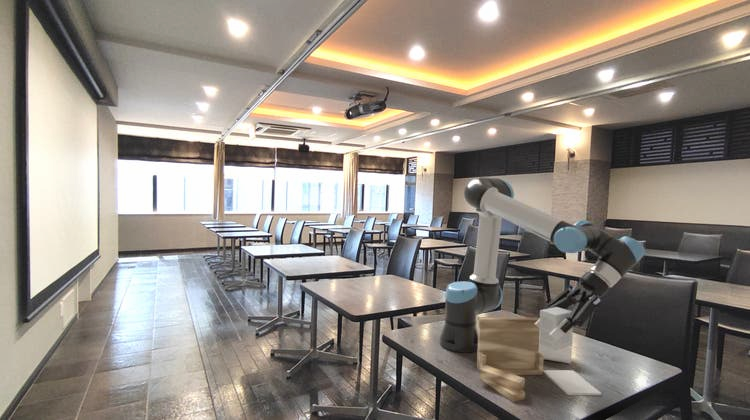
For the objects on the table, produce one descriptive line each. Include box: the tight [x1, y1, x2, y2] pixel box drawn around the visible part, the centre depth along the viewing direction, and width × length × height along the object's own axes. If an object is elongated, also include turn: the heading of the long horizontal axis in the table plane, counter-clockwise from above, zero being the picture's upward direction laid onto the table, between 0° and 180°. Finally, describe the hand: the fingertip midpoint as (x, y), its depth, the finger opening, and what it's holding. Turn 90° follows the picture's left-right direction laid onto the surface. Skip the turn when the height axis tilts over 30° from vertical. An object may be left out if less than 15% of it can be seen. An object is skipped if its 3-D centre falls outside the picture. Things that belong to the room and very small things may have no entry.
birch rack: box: [476, 316, 545, 376], centre depth 118 cm, size 5×21×17 cm, turn 93°
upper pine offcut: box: [479, 365, 526, 391], centre depth 107 cm, size 12×4×2 cm, turn 49°
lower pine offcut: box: [479, 376, 526, 403], centre depth 107 cm, size 14×4×2 cm, turn 23°
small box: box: [539, 307, 574, 350], centre depth 109 cm, size 8×6×10 cm
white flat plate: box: [543, 369, 602, 396], centre depth 112 cm, size 14×10×1 cm
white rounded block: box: [539, 334, 573, 364], centre depth 130 cm, size 12×10×8 cm
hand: (545, 332), depth 109 cm, fingers closed on small box, 8 cm apart
